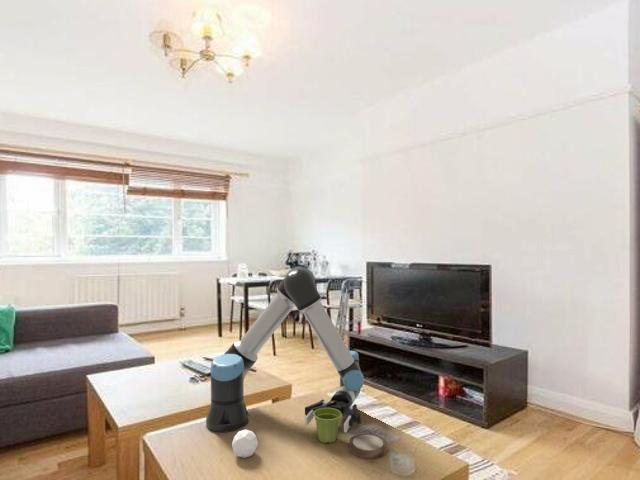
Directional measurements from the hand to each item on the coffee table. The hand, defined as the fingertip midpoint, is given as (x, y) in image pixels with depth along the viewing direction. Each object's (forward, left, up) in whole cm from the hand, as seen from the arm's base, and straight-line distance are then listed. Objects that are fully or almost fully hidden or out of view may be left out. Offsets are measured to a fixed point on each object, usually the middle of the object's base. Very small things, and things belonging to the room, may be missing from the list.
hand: (325, 425), depth 134 cm
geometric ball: (-21, +15, -6) cm, 27 cm away
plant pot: (+3, +1, -6) cm, 7 cm away
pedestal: (+6, -13, -6) cm, 15 cm away
